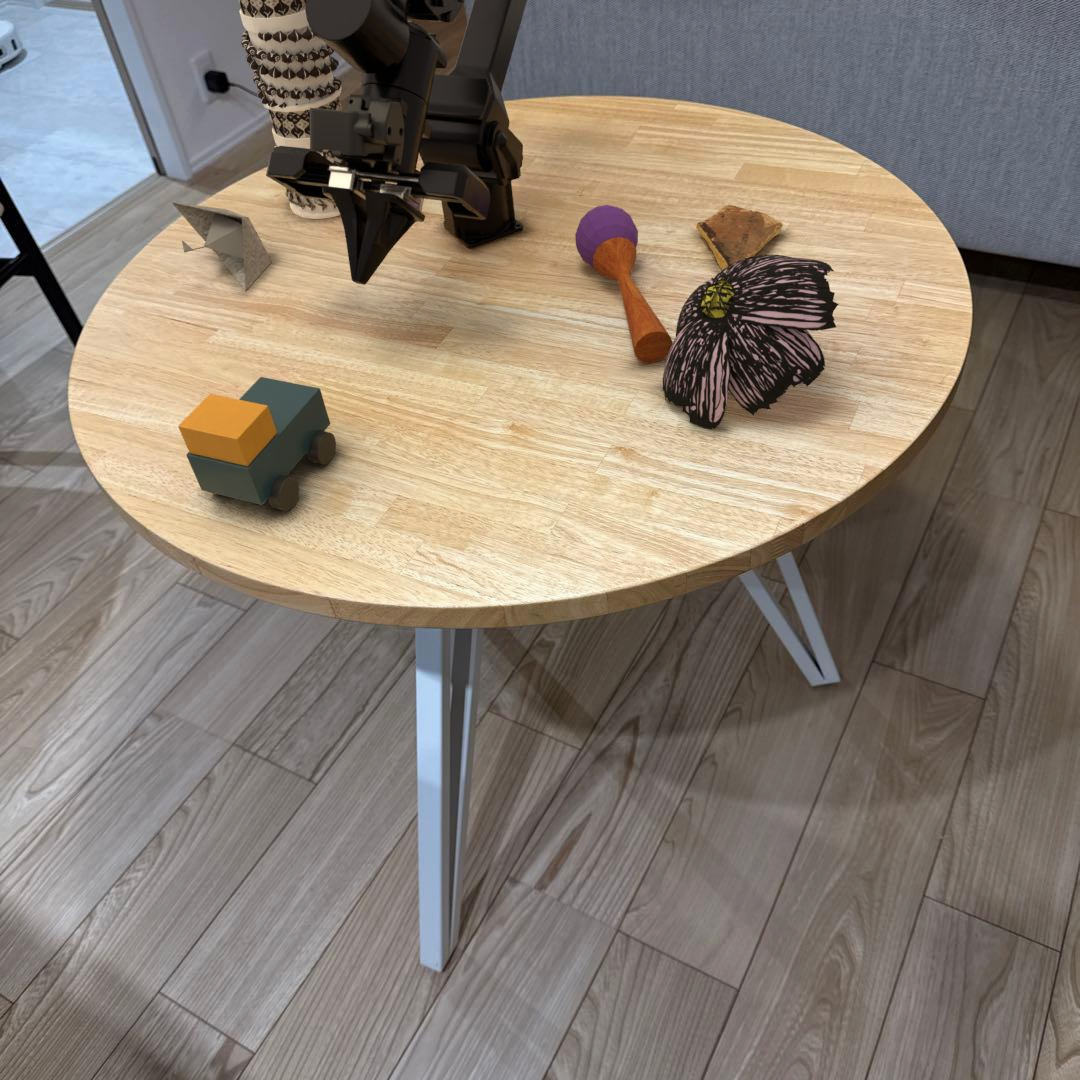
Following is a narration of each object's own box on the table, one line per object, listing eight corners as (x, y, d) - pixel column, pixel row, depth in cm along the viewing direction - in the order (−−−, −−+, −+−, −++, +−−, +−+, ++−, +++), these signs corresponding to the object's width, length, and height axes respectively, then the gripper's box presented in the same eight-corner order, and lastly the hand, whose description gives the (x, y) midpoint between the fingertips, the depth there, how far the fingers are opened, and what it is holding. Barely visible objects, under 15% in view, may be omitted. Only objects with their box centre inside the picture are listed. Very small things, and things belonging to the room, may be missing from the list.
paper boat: (302, 253, 102) (232, 273, 96) (282, 296, 107) (213, 318, 100) (228, 168, 103) (154, 182, 96) (211, 214, 108) (138, 231, 101)
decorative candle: (385, 190, 113) (335, -58, 96) (331, 227, 108) (268, -28, 90) (324, 176, 117) (265, -65, 99) (270, 211, 112) (198, -37, 94)
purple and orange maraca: (613, 332, 83) (563, 205, 96) (626, 383, 87) (577, 256, 100) (682, 308, 82) (622, 184, 95) (691, 362, 87) (634, 236, 100)
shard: (732, 285, 93) (733, 268, 92) (662, 265, 97) (662, 248, 96) (785, 234, 99) (787, 217, 98) (717, 217, 103) (718, 200, 101)
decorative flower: (633, 242, 81) (820, 190, 76) (673, 331, 91) (843, 290, 85) (634, 385, 74) (841, 340, 69) (677, 466, 84) (863, 431, 78)
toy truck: (242, 347, 78) (164, 425, 72) (321, 362, 76) (247, 443, 70) (271, 428, 84) (200, 506, 78) (344, 443, 82) (278, 526, 75)
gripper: (244, 47, 79) (208, 242, 80) (454, 61, 73) (412, 272, 74) (319, 105, 90) (286, 278, 91) (508, 122, 84) (471, 306, 85)
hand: (358, 283), depth 85 cm, fingers closed
